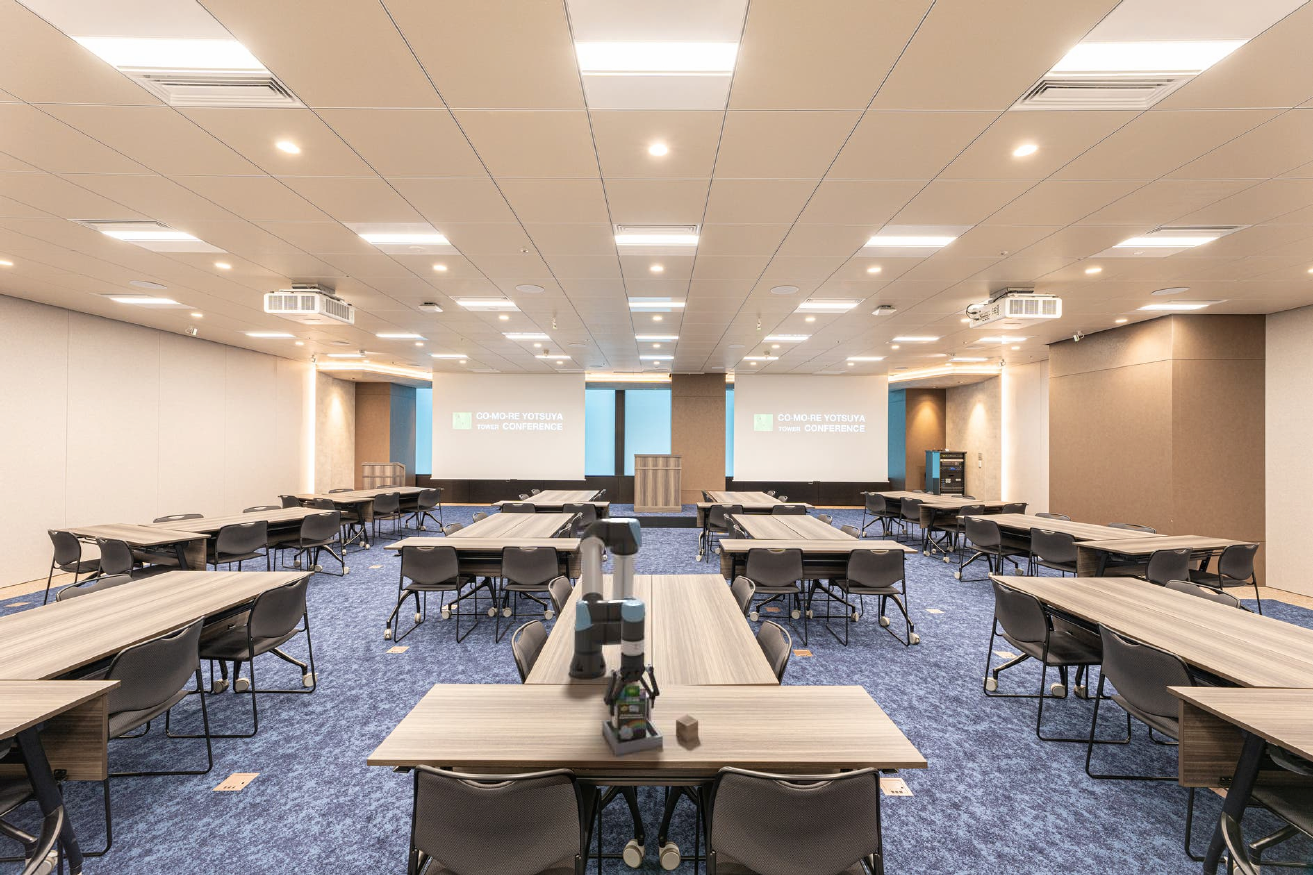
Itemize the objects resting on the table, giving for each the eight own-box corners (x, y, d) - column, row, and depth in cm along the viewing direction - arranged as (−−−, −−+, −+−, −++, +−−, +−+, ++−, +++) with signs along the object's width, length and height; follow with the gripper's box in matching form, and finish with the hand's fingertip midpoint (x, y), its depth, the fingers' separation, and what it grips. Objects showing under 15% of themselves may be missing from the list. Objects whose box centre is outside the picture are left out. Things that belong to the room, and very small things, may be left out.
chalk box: (646, 724, 161) (646, 677, 161) (646, 740, 151) (647, 691, 152) (617, 724, 160) (618, 677, 161) (616, 740, 151) (617, 691, 152)
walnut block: (675, 735, 158) (676, 719, 158) (686, 730, 161) (687, 714, 161) (687, 742, 154) (687, 725, 154) (698, 736, 157) (698, 720, 157)
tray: (602, 730, 160) (602, 720, 160) (645, 721, 165) (645, 712, 166) (615, 756, 146) (616, 746, 146) (662, 746, 152) (662, 736, 152)
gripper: (600, 661, 149) (599, 735, 148) (670, 650, 158) (670, 721, 157) (594, 651, 156) (593, 723, 155) (661, 642, 165) (661, 709, 164)
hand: (631, 722), depth 156 cm, fingers closed on chalk box, 11 cm apart
